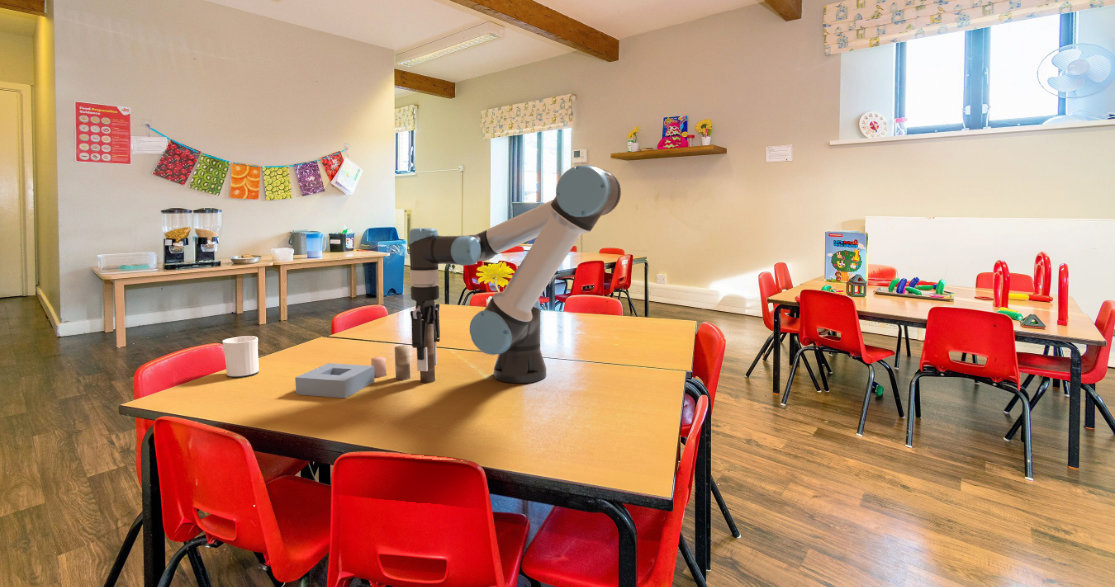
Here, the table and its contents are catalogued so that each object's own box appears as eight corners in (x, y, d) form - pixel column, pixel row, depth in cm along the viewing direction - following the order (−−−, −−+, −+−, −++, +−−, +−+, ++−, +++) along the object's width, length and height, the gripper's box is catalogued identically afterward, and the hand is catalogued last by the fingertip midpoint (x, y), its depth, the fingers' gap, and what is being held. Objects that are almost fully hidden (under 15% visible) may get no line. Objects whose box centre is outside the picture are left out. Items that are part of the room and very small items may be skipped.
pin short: (389, 373, 158) (388, 357, 158) (382, 377, 155) (381, 360, 154) (376, 373, 159) (375, 356, 159) (369, 376, 155) (368, 359, 155)
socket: (374, 381, 151) (373, 366, 150) (345, 398, 137) (344, 380, 136) (329, 378, 153) (328, 363, 153) (296, 394, 140) (295, 377, 139)
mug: (266, 372, 159) (264, 338, 157) (235, 380, 151) (232, 344, 150) (246, 367, 165) (244, 334, 163) (215, 374, 157) (212, 339, 156)
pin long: (437, 379, 153) (435, 323, 151) (431, 383, 149) (429, 326, 147) (424, 378, 154) (422, 322, 152) (417, 382, 150) (415, 325, 148)
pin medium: (412, 376, 156) (411, 345, 155) (406, 380, 152) (405, 349, 151) (400, 375, 157) (398, 345, 155) (393, 379, 153) (391, 348, 152)
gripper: (426, 280, 158) (429, 358, 161) (395, 288, 140) (399, 376, 143) (450, 281, 156) (452, 360, 159) (422, 289, 138) (425, 378, 142)
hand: (427, 367), depth 151 cm, fingers open, 5 cm apart
